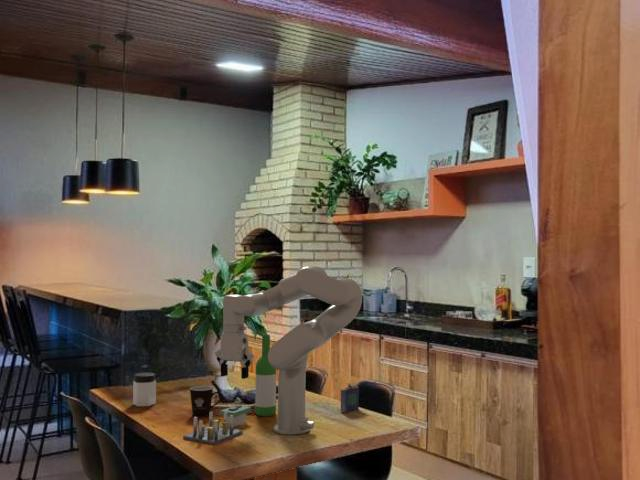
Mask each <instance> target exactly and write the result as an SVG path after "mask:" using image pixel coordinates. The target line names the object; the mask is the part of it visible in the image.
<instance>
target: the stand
mask: <svg viewBox="0 0 640 480" xmlns="http://www.w3.org/2000/svg"><path fill="white" fill-rule="evenodd" d="M227 422H228V428H230V417H229V416H227ZM246 423H247V413H245V414H242V415H239V416H236V417H233V428H235V427H238V426H240V425H242V424H246Z"/></svg>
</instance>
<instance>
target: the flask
mask: <svg viewBox="0 0 640 480" xmlns="http://www.w3.org/2000/svg"><path fill="white" fill-rule="evenodd" d="M346 385H347V386H346V387H344V388H340V411H339V412H340V413H341V414H347V413H351V412H355V411H359V408H360V407H359V402H360V401H359V400H360V398H359V397H360V396H359V394H360V387H359V386H357V385H352V384H351V383H350V382H347V383H346Z"/></svg>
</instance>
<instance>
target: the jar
mask: <svg viewBox="0 0 640 480" xmlns="http://www.w3.org/2000/svg"><path fill="white" fill-rule="evenodd" d="M132 404H133V405H134V406H136V407H151V406H154V405H156V404H157V380H156V373H153V372H138V373H135V374H134V380H133V381H132Z"/></svg>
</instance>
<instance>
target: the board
mask: <svg viewBox="0 0 640 480" xmlns="http://www.w3.org/2000/svg"><path fill="white" fill-rule="evenodd" d="M224 412H227V416H229V417H230V415H233V417H236V416H239V415H242V414H245V413H246V414H247V413H249V412H252V406H246V405H240V404H236V405H233V406H230V407H227V408H224V409H222V410H220V416H223V417H224Z"/></svg>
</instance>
